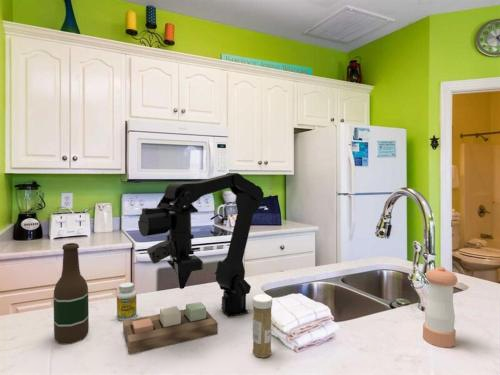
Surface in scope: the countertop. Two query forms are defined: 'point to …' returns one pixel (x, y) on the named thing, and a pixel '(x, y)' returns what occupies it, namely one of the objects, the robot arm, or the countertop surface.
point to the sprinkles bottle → (262, 325)
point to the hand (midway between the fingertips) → (181, 288)
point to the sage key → (195, 311)
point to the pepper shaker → (440, 308)
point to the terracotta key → (142, 326)
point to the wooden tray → (167, 332)
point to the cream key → (170, 316)
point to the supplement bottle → (126, 302)
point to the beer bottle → (70, 300)
